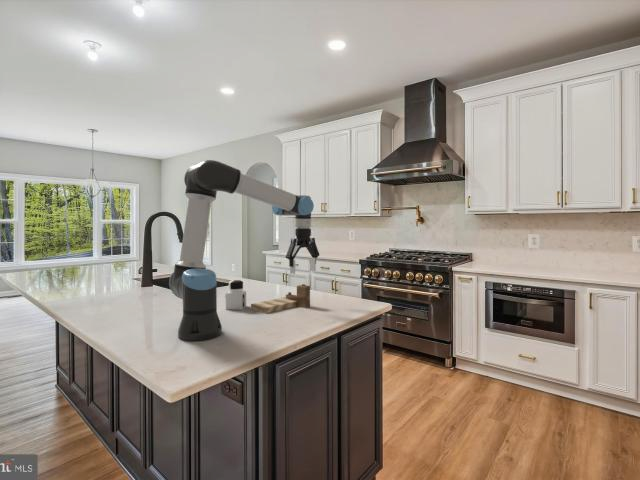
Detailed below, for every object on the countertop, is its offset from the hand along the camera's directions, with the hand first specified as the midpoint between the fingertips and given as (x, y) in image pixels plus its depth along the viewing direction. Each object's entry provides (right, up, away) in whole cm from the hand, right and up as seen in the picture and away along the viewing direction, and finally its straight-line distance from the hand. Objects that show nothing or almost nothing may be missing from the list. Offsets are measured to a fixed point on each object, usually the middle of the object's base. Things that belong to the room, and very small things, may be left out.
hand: (303, 272), depth 174 cm
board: (-11, -17, +1) cm, 20 cm away
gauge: (-3, -17, +4) cm, 17 cm away
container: (-32, -17, -2) cm, 36 cm away
